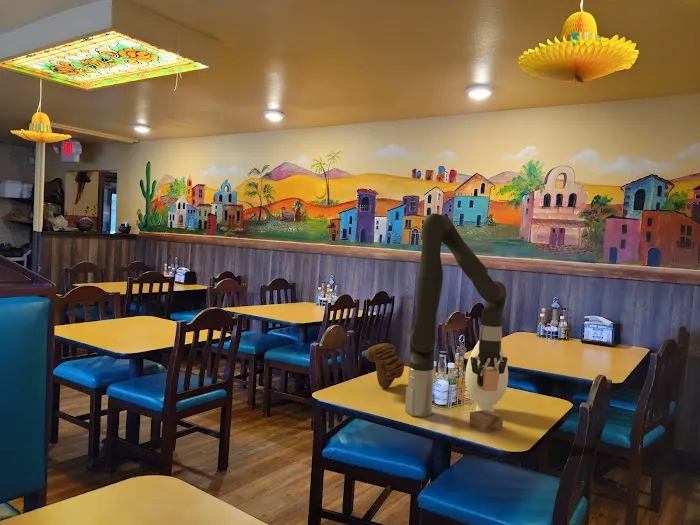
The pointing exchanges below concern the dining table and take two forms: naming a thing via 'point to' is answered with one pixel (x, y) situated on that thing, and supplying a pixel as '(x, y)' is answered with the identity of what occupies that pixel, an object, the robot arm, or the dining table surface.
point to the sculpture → (385, 363)
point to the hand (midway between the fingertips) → (487, 385)
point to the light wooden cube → (490, 380)
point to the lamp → (479, 396)
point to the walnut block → (486, 421)
